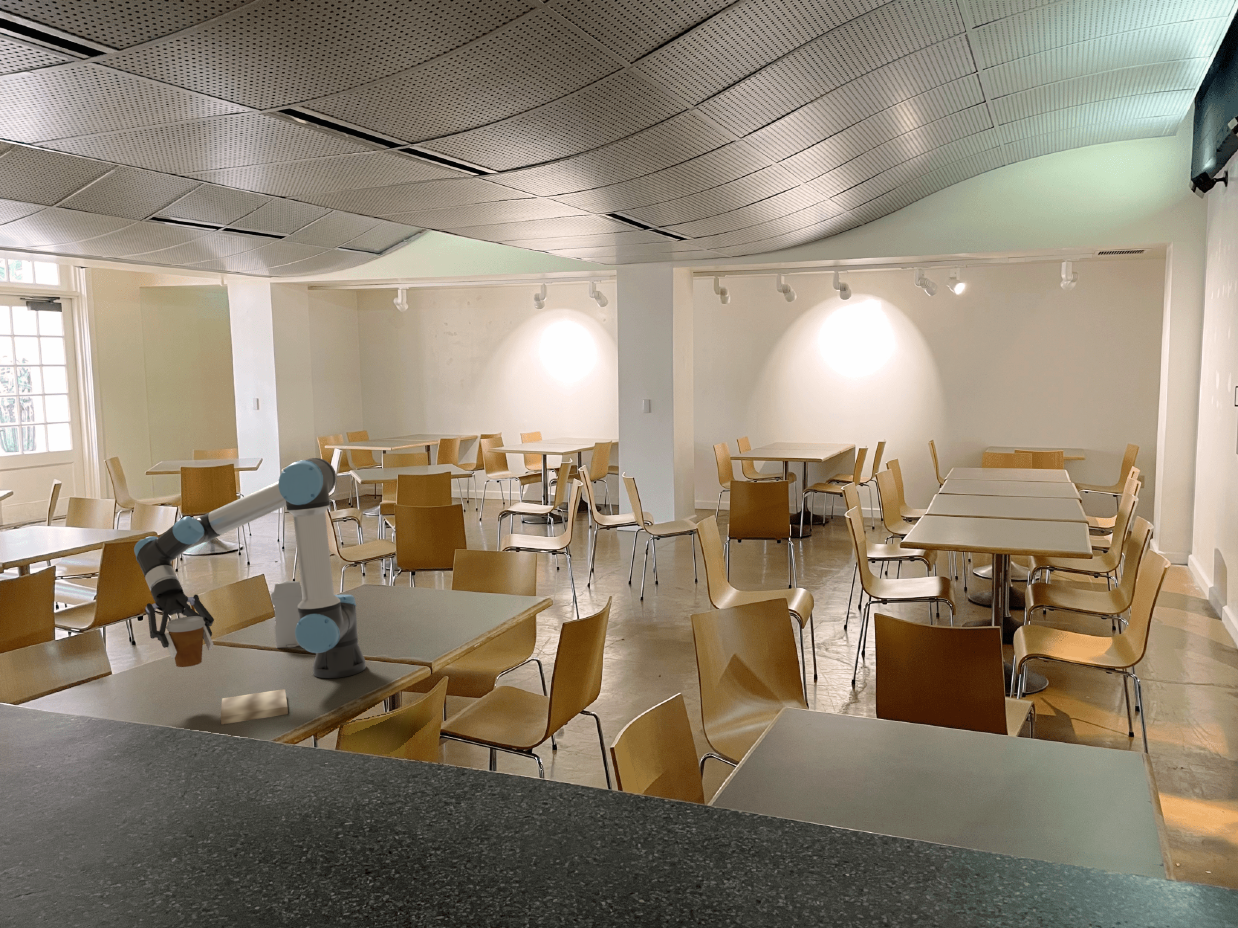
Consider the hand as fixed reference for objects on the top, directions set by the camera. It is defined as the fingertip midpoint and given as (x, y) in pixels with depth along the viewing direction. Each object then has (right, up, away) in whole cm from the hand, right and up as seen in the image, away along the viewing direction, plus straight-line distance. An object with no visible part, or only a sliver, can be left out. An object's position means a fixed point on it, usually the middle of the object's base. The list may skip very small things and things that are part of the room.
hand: (192, 651), depth 245 cm
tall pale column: (+5, -11, +61) cm, 62 cm away
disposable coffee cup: (-2, -4, +3) cm, 5 cm away
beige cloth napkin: (+17, -15, -2) cm, 23 cm away
